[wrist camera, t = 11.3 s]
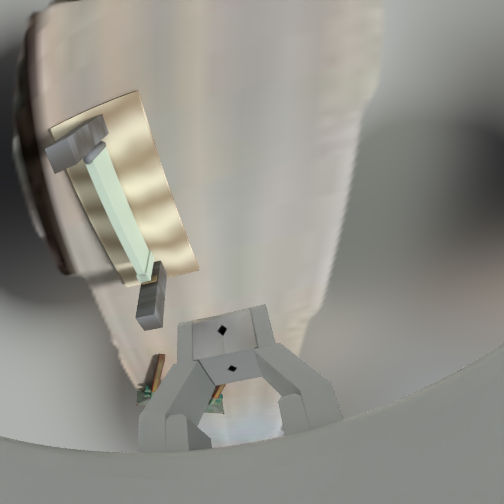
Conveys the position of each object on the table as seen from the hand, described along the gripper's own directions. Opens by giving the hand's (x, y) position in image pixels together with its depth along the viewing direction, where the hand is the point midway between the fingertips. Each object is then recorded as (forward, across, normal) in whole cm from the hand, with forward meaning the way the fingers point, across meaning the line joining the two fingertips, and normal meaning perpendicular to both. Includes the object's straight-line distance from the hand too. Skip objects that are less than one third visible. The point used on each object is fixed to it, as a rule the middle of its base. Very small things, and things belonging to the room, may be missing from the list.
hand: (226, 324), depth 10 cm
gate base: (+34, +15, +9) cm, 38 cm away
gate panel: (+33, +15, +9) cm, 37 cm away
